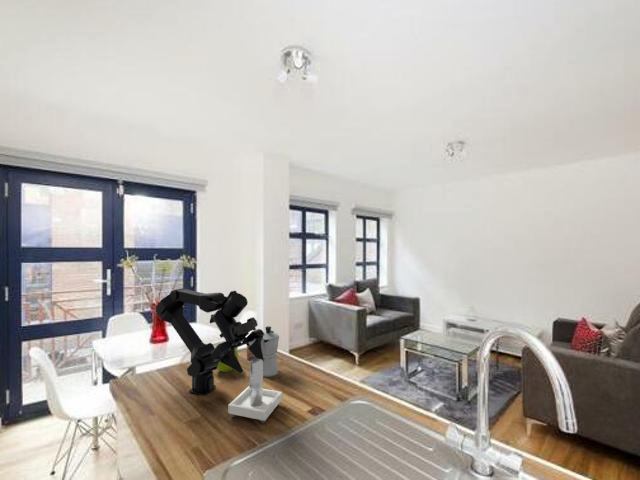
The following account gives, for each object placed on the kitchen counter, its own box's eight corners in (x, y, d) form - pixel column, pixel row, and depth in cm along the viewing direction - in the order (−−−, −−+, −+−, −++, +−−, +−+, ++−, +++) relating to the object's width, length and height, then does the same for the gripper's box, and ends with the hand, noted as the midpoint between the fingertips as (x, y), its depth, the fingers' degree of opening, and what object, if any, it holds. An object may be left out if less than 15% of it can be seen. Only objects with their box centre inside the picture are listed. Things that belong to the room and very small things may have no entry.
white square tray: (228, 418, 93) (228, 404, 93) (248, 398, 105) (248, 386, 105) (264, 426, 90) (264, 412, 90) (281, 404, 101) (281, 391, 101)
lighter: (247, 360, 135) (247, 337, 135) (245, 358, 138) (245, 335, 138) (265, 357, 139) (265, 335, 138) (263, 354, 142) (263, 332, 142)
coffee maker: (276, 379, 118) (276, 332, 118) (253, 379, 118) (253, 331, 118) (281, 363, 133) (282, 321, 133) (261, 362, 133) (261, 320, 133)
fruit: (234, 375, 121) (234, 350, 121) (210, 375, 121) (210, 349, 121) (240, 365, 130) (241, 341, 130) (218, 365, 130) (218, 341, 130)
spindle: (248, 406, 95) (249, 364, 95) (249, 399, 99) (250, 359, 99) (262, 406, 95) (262, 363, 95) (262, 399, 99) (263, 358, 99)
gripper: (217, 317, 92) (245, 363, 87) (260, 305, 108) (286, 343, 103) (199, 339, 96) (224, 384, 91) (243, 324, 112) (267, 361, 107)
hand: (253, 367), depth 98 cm, fingers open, 9 cm apart
